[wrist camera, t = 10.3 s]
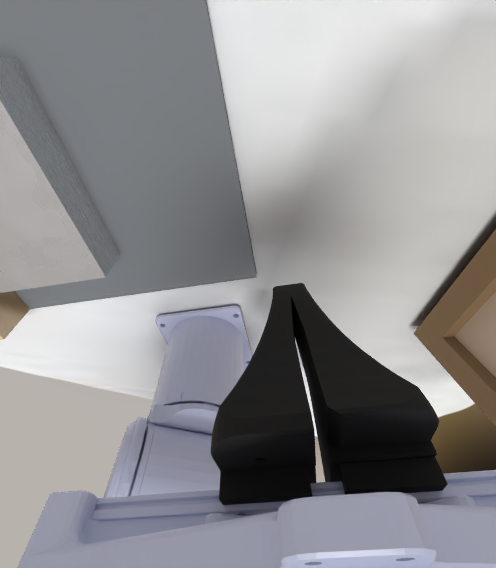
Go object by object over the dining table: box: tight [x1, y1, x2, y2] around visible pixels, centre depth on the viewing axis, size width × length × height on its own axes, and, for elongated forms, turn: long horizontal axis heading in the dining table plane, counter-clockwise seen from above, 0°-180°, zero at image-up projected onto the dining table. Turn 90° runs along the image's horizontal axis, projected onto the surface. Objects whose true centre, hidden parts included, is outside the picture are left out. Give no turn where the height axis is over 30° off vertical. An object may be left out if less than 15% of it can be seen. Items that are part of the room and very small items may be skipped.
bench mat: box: [0, 0, 256, 309], centre depth 19 cm, size 20×26×1 cm
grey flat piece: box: [0, 58, 120, 293], centre depth 17 cm, size 12×8×3 cm, turn 9°
